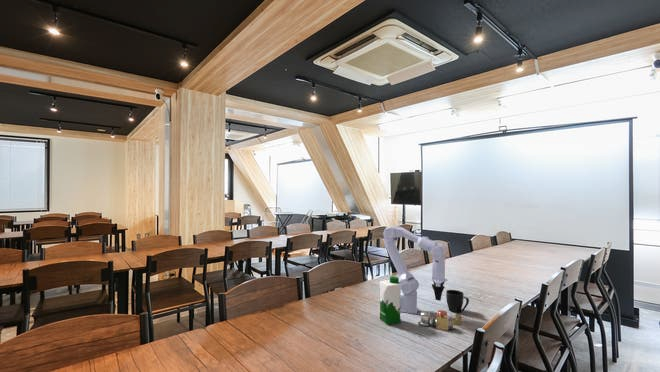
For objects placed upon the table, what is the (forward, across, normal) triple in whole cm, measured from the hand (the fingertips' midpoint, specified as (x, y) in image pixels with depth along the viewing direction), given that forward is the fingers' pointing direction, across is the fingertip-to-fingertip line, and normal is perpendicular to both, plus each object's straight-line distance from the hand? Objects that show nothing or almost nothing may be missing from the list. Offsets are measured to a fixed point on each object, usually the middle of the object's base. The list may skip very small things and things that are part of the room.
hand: (438, 297), depth 143 cm
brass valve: (+10, -10, -2) cm, 14 cm away
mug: (+10, +12, -9) cm, 18 cm away
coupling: (+10, -10, +5) cm, 15 cm away
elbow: (+10, -3, -8) cm, 13 cm away
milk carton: (+10, -13, +21) cm, 27 cm away
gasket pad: (+10, -10, +6) cm, 15 cm away
